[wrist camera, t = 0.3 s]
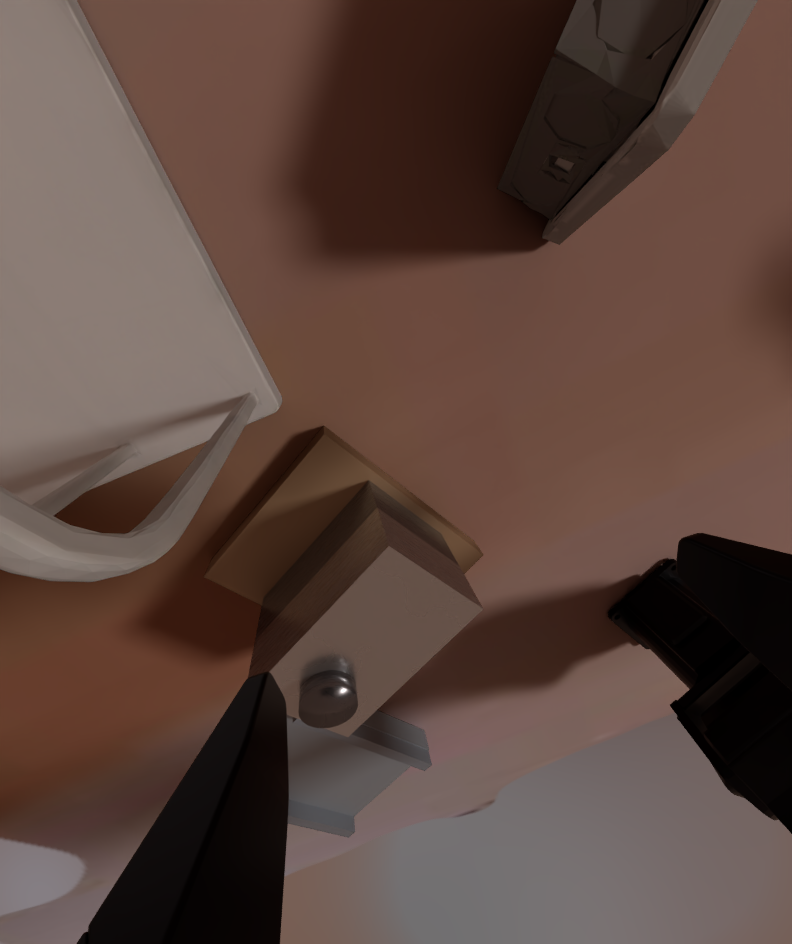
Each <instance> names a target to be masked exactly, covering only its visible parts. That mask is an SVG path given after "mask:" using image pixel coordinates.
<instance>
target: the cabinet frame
mask: <svg viewBox="0 0 792 944" xmlns="http://www.w3.org/2000/svg"><path fill="white" fill-rule="evenodd" d="M287 738H288V771H289V808H288V823H289V824H293V825H297V826H301V827H306V828H310V829H314V830H318V831H323V832H327V833H331V834H336V835H340V836H344V837H348V838H349V837H350V836H351V835H352V834H353V833H354V832H355V825H354V816H355V815H356V814H357V813H358V812H360V811H361V810H362V809H363V808H364V807H365V806H366V805H367V804H369V803H370V802H371V801H372V800H373V799H374V798H375V797H377V796H378V795H379V794H380V793H381V792H382V791H383V790H384V789H386V788H387V787H388V786H389V785H390V784H391V783H392V782H393V781H395V780H396V779H397V778H398V777H399V776H400V775H401V774H402V773H404V772H405V771H406V770H407V769H408V768H409V767H410V766H412V767H415V768H418V769H421V770H424V771H425V770H426V769H427V768H429V767H430V766H431V765H432V763H431V759H430V755H429V751H428V750H429V747H428V743H427V739H426V735H425V731H424V730H422V729H420V728H418V727H415V726H413V725H410V724H408V723H406V722H403V721H401V720H399V719H396V718H394V717H392V716H389V715H387V714H385V713H382V712H380V711H377V710H376V711H375V712H374V713H373V714H372V715H371V716H370V717H369V718H368V719H367V720H366V721H365V722H364V723H363V724H362V725H360V726H359V727H358V728H357V729H356V730H355V731H354V732H353V733H352V734H351V735H350V736H349V737H346V736H343V735H340V734H338V733H335V732H332V731H330V730H327V729H324V728H314V727H311V726H308V725H306V724H305V723H304V722H303V721H302V720H300V719H297V718H295V717H292V716H289V715H287Z"/></svg>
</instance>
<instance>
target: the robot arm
mask: <svg viewBox="0 0 792 944" xmlns="http://www.w3.org/2000/svg"><path fill="white" fill-rule="evenodd" d="M608 617H609V618H610V619H611V620H612V621H613V622H614V623H615V624H616V625H618V626H619V627H620V628H621V629H622V630H624V631H625V632H626V633H627V634H628V635H630V636H631V637H632V638H633V639H635V640H636V641H637V642H638V643H639V644H641V645H642V646H643V647H644V648H645V649H651V650H652V651H653V652H654V653H655V654H656V655H657V656H658V657H659V658H660V659H661V661H662V662H663V663H664V664H665V665H666V666H667V667H668V668H669V669H670V670H671V671H672V672H673V673H674V674H675V675H676V676H677V677H678V678H679V679H680V680H681V681H682V682H683V683H684V684H685V685H686V686H687V687H688V688H689V689H690V690H689V691H688V692H686V693H685V694H684V695H683V696H682V697H681V698H680V699H679V700H678V701H677V700H675V701H674V702H673V703H671V704H670V706H671V708H672V709H673V710H674V712H675V713H676V714H677V719H678V720H679V721H680V722H681V724H682V725H683V726H684V728H685V729H686V730H687V732H688V733H689V734H690V735H691V737H692V738H693V739H694V741H695V742H696V743H697V745H698V746H699V747H700V749H701V750H702V751H703V753H704V754H705V755H706V757H707V758H708V759H709V760H710V762H711V764H712V765H713V767H714V769H715V770H716V772H717V773H718V775H719V777H720V778H721V780H722V782H723V783H724V785H725V786H726V787H727V789H728V790H729V791H730V792H731V793H733V794H734V795H737V796H740V797H743V798H746V799H747V800H748V801H749V802H750V803H752V804H753V805H754V806H755V807H756V808H758V809H759V810H760V811H761V812H762V813H764V814H765V815H766V816H768V817H770V818H771V819H773V820H778V819H779V820H780V821H781V822H782V824H783V825H784V826H785V827H786V828H787V829H788V830H789V831H790V832H791V834H792V554H787V553H783V552H779V551H775V550H771V549H767V548H762V547H758V546H754V545H750V544H746V543H742V542H738V541H733V540H729V539H725V538H721V537H717V536H713V535H708V534H704V533H696V534H693V535H690V536H687V537H684V538H682V539H681V540H680V541H679V544H678V552H677V561H676V560H674V559H670V560H668V561H667V562H665V563H664V564H663V565H662V566H661V567H660V568H659V569H657V570H656V571H655V572H654V573H653V574H652V575H651V576H649V577H648V578H647V579H646V580H645V581H644V582H642V583H641V584H640V585H639V586H638V587H637V588H636V589H634V590H633V591H632V592H631V593H630V594H629V595H628V596H626V597H625V598H624V599H623V600H622V601H621V602H620V603H618V604H617V605H616V606H615V607H614V608H613V609H612V610H610V612H609V613H608ZM288 808H289V771H288V738H287V708H286V702H285V698H284V696H283V694H282V692H281V690H280V688H279V686H278V684H277V683H276V681H275V679H274V677H273V675H272V674H271V673H270V672H263V673H260V674H257V675H254V676H251V677H249V678H248V679H247V680H246V681H245V682H244V684H243V686H242V687H241V689H240V690H239V692H238V693H237V695H236V696H235V698H234V700H233V701H232V703H231V704H230V706H229V707H228V709H227V710H226V712H225V714H224V715H223V717H222V718H221V720H220V721H219V723H218V724H217V726H216V728H215V729H214V731H213V732H212V734H211V735H210V737H209V739H208V740H207V742H206V743H205V745H204V746H203V748H202V749H201V751H200V753H199V754H198V756H197V757H196V759H195V760H194V762H193V763H192V765H191V767H190V768H189V770H188V771H187V773H186V774H185V776H184V777H183V779H182V781H181V782H180V784H179V785H178V787H177V788H176V790H175V792H174V793H173V795H172V796H171V798H170V799H169V801H168V802H167V804H166V806H165V807H164V809H163V810H162V812H161V813H160V815H159V816H158V818H157V820H156V821H155V823H154V824H153V826H152V827H151V829H150V830H149V832H148V834H147V835H146V837H145V838H144V840H143V841H142V843H141V845H140V846H139V848H138V849H137V851H136V852H135V854H134V855H133V857H132V859H131V860H130V862H129V863H128V865H127V866H126V868H125V869H124V871H123V873H122V874H121V876H120V877H119V879H118V880H117V882H116V883H115V885H114V887H113V888H112V890H111V891H110V893H109V894H108V896H107V897H106V899H105V901H104V902H103V904H102V905H101V907H100V908H99V910H98V912H97V913H96V915H95V916H94V918H93V919H92V921H91V922H90V924H89V927H88V932H85V933H84V934H83V935H82V936H81V938H80V939H79V941H78V942H77V944H280V933H281V917H282V902H283V885H284V871H285V856H286V840H287V825H288Z"/></svg>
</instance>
